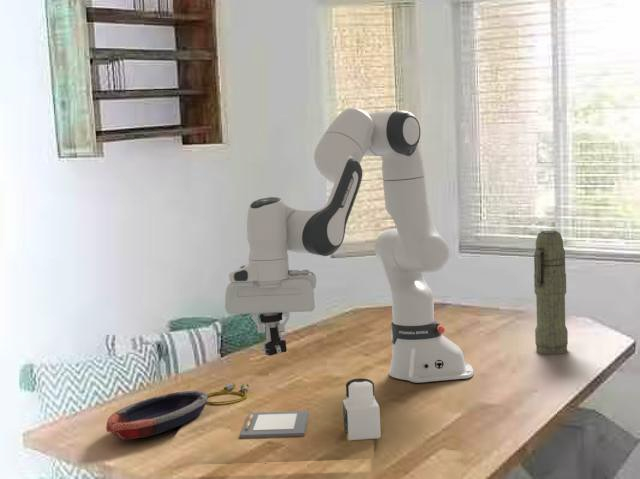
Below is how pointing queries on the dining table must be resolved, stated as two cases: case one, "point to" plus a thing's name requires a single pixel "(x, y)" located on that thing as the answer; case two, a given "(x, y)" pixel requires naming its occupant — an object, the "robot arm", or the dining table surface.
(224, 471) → the dining table surface
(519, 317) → the dining table surface
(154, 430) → the dish
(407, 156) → the robot arm
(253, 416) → the grey board
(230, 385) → the extension cord
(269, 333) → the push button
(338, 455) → the dining table surface
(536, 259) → the thermos
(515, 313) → the dining table surface
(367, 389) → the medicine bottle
